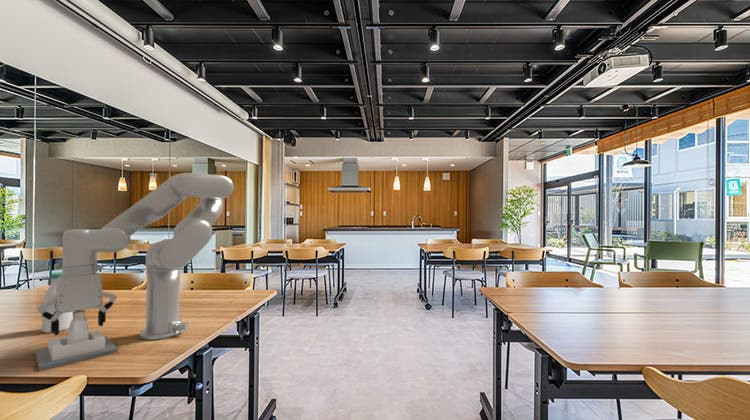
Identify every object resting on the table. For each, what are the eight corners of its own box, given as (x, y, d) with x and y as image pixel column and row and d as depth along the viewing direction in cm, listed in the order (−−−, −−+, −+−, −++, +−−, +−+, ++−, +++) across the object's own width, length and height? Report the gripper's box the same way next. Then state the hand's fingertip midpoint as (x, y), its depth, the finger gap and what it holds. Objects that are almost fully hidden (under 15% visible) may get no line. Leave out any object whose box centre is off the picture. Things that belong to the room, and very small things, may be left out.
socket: (106, 338, 106) (106, 326, 106) (117, 351, 95) (118, 338, 95) (35, 354, 93) (35, 340, 94) (39, 370, 83) (40, 355, 83)
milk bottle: (77, 327, 117) (79, 271, 118) (50, 334, 110) (52, 275, 110) (64, 325, 119) (66, 270, 120) (36, 331, 112) (38, 273, 113)
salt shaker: (72, 346, 96) (74, 309, 97) (94, 344, 98) (95, 308, 98) (60, 353, 91) (61, 314, 92) (83, 352, 93) (84, 313, 93)
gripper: (114, 266, 104) (113, 319, 104) (36, 273, 91) (35, 334, 91) (119, 268, 99) (119, 324, 99) (38, 276, 86) (37, 341, 86)
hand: (79, 329), depth 95 cm, fingers open, 9 cm apart
